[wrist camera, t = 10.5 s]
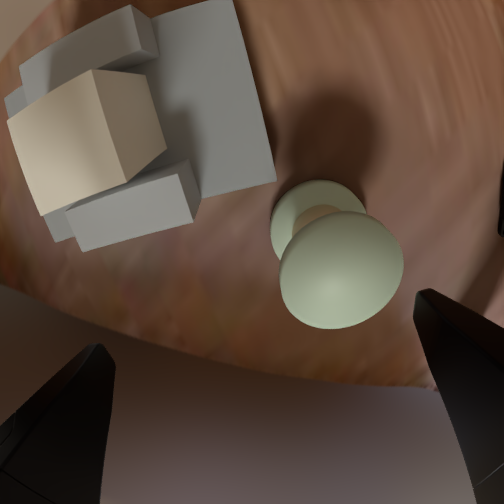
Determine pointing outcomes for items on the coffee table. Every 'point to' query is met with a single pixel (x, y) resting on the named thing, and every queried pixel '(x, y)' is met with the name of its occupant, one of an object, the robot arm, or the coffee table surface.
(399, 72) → the coffee table surface
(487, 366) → the robot arm
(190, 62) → the notch board
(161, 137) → the block
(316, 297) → the spool
